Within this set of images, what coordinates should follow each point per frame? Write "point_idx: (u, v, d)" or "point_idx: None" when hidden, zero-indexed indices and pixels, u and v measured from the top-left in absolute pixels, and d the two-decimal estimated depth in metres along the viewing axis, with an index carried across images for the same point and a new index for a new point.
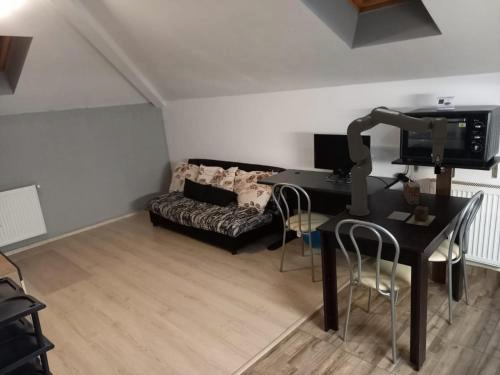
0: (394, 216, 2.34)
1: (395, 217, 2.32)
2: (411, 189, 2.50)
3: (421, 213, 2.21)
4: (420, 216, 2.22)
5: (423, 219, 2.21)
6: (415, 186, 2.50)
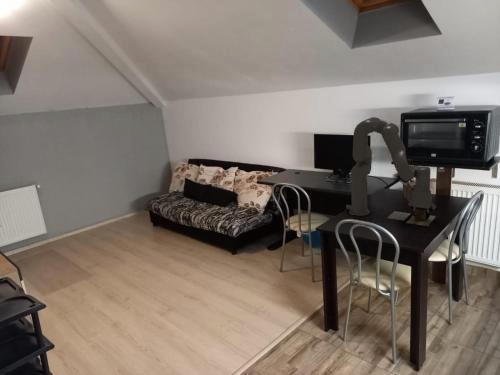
0: (394, 216, 2.34)
1: (395, 217, 2.32)
2: (413, 189, 2.50)
3: (421, 213, 2.21)
4: (420, 216, 2.22)
5: (423, 219, 2.21)
6: None
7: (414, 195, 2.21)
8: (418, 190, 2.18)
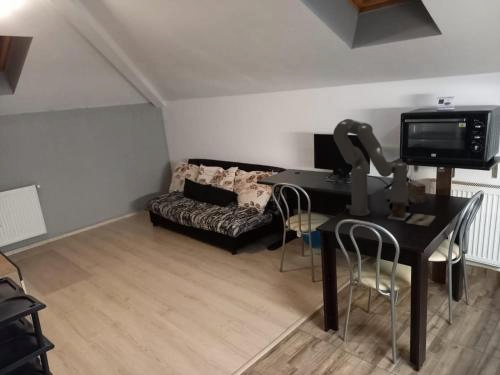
0: None
1: (395, 217, 2.32)
2: (417, 188, 2.51)
3: (399, 209, 2.30)
4: (398, 212, 2.31)
5: (400, 215, 2.30)
6: (420, 185, 2.52)
7: (392, 190, 2.30)
8: (395, 185, 2.27)
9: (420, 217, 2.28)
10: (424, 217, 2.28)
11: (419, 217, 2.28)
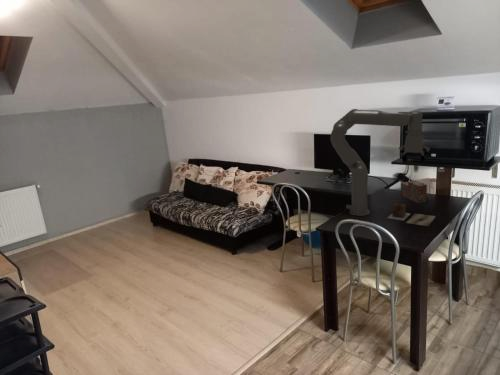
0: None
1: (395, 217, 2.32)
2: (419, 188, 2.51)
3: (399, 209, 2.30)
4: (398, 212, 2.31)
5: (400, 215, 2.30)
6: (422, 184, 2.53)
7: (407, 140, 2.26)
8: (410, 134, 2.23)
9: (420, 217, 2.28)
10: (424, 217, 2.28)
11: (419, 217, 2.28)
